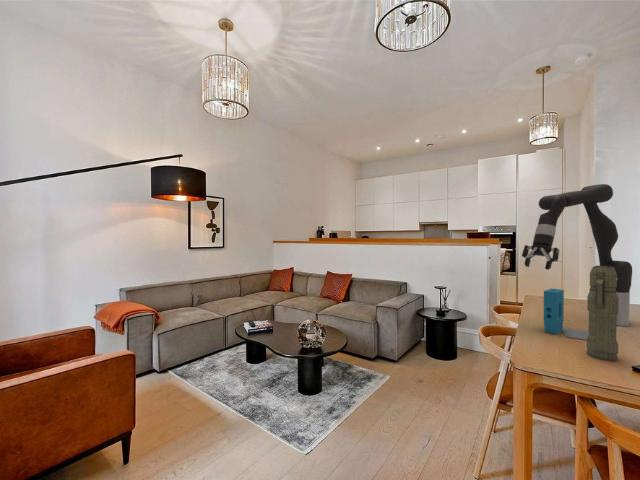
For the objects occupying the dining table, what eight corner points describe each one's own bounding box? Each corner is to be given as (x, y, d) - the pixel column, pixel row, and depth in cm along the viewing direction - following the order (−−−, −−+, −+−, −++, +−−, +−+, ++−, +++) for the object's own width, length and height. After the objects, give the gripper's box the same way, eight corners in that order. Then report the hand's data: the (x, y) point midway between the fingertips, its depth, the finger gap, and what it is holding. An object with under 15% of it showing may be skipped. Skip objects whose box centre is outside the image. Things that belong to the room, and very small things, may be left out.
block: (555, 335, 138) (555, 292, 138) (542, 332, 142) (543, 291, 142) (563, 330, 145) (564, 289, 145) (551, 327, 149) (551, 288, 149)
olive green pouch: (585, 357, 114) (586, 266, 113) (587, 348, 122) (588, 264, 121) (617, 364, 107) (619, 268, 107) (618, 355, 116) (619, 265, 115)
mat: (561, 328, 149) (561, 327, 149) (602, 333, 140) (602, 332, 140) (565, 337, 135) (566, 336, 135) (612, 344, 127) (612, 343, 127)
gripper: (565, 238, 136) (557, 272, 135) (532, 236, 149) (524, 267, 148) (558, 233, 133) (549, 268, 132) (524, 232, 146) (516, 263, 145)
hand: (536, 267), depth 140 cm, fingers open, 8 cm apart
